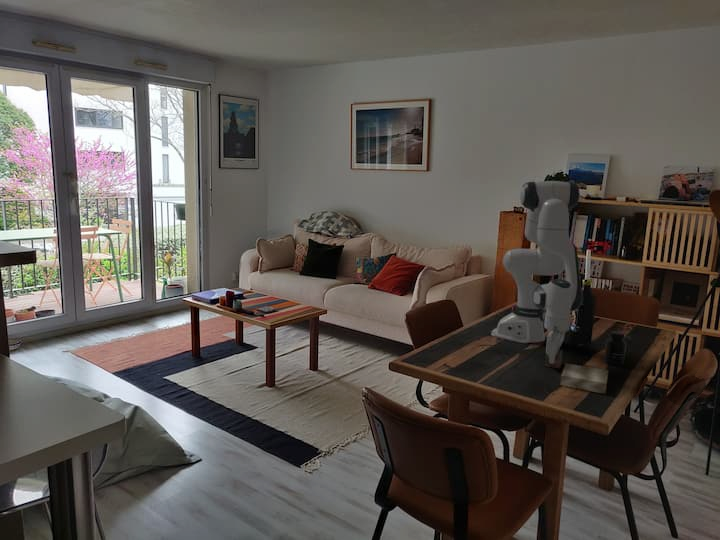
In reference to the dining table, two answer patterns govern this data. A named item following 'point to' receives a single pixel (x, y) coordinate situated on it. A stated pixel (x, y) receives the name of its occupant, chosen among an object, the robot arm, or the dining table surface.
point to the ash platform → (584, 378)
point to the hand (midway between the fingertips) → (553, 359)
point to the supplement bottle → (615, 349)
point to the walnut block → (557, 360)
